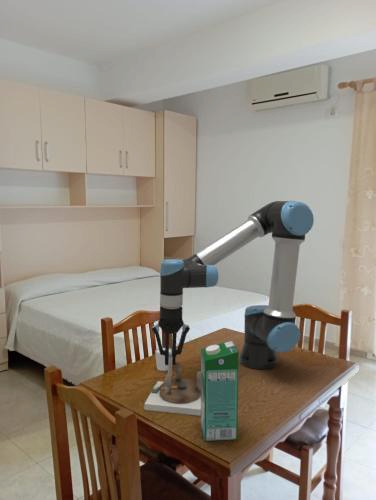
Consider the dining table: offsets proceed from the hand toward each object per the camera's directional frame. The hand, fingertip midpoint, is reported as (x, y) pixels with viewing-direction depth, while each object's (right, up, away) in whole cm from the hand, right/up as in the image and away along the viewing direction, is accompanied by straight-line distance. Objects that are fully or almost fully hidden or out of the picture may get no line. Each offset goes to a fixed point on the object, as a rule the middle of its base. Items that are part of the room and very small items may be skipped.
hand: (169, 373), depth 136 cm
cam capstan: (+4, -5, -5) cm, 8 cm away
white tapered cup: (-3, -4, +20) cm, 21 cm away
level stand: (+4, -7, -5) cm, 10 cm away
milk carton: (+15, -9, -23) cm, 29 cm away
